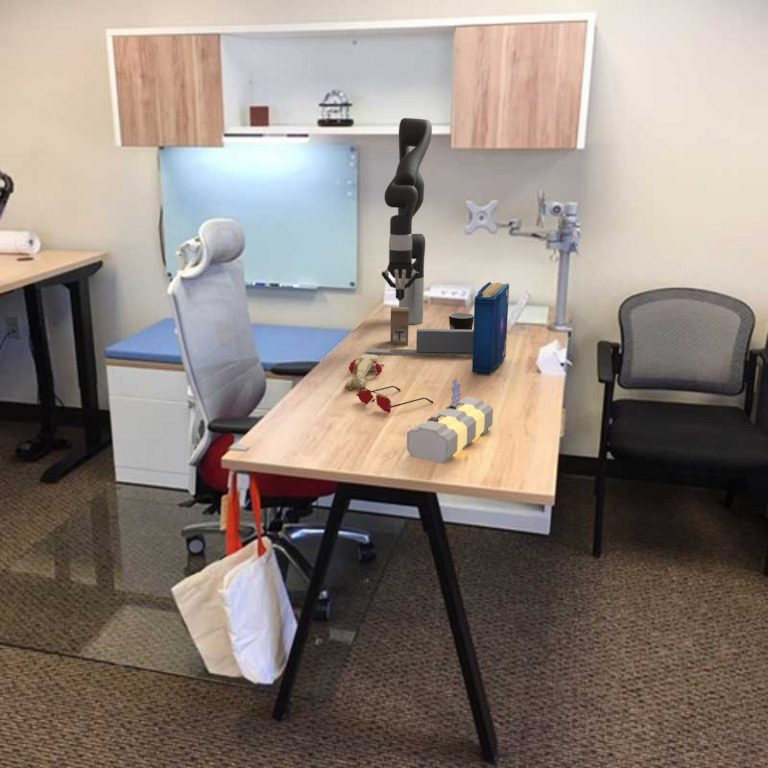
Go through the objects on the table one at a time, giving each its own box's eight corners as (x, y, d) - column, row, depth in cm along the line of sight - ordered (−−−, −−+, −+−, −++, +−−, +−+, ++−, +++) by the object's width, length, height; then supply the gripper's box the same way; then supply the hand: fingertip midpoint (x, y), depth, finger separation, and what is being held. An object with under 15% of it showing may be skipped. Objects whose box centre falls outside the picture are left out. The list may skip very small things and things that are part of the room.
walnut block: (390, 340, 285) (391, 307, 282) (408, 341, 285) (408, 307, 281) (390, 345, 279) (390, 311, 275) (408, 345, 279) (408, 311, 275)
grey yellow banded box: (454, 424, 208) (456, 374, 204) (492, 431, 203) (494, 381, 199) (406, 456, 188) (407, 402, 184) (447, 466, 183) (448, 410, 179)
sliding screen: (416, 349, 271) (416, 328, 269) (483, 350, 270) (483, 329, 268) (416, 351, 268) (416, 331, 266) (483, 352, 268) (484, 332, 265)
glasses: (355, 403, 223) (355, 386, 221) (401, 391, 233) (401, 375, 231) (388, 417, 213) (388, 399, 211) (434, 404, 223) (435, 387, 221)
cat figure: (372, 396, 232) (387, 365, 254) (371, 368, 228) (387, 338, 251) (337, 394, 233) (356, 363, 256) (337, 366, 230) (355, 337, 253)
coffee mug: (473, 347, 278) (475, 318, 275) (448, 346, 278) (449, 318, 275) (471, 338, 289) (472, 310, 286) (446, 338, 289) (447, 310, 286)
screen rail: (365, 351, 272) (365, 348, 272) (486, 352, 271) (486, 350, 271) (365, 354, 268) (365, 352, 268) (487, 356, 267) (487, 353, 267)
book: (492, 377, 245) (496, 295, 237) (469, 375, 247) (472, 293, 240) (505, 358, 265) (510, 282, 257) (484, 356, 267) (487, 280, 259)
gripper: (420, 246, 272) (419, 297, 277) (380, 246, 272) (380, 297, 277) (420, 249, 265) (419, 302, 270) (380, 249, 265) (379, 302, 270)
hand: (399, 299), depth 274 cm, fingers closed
